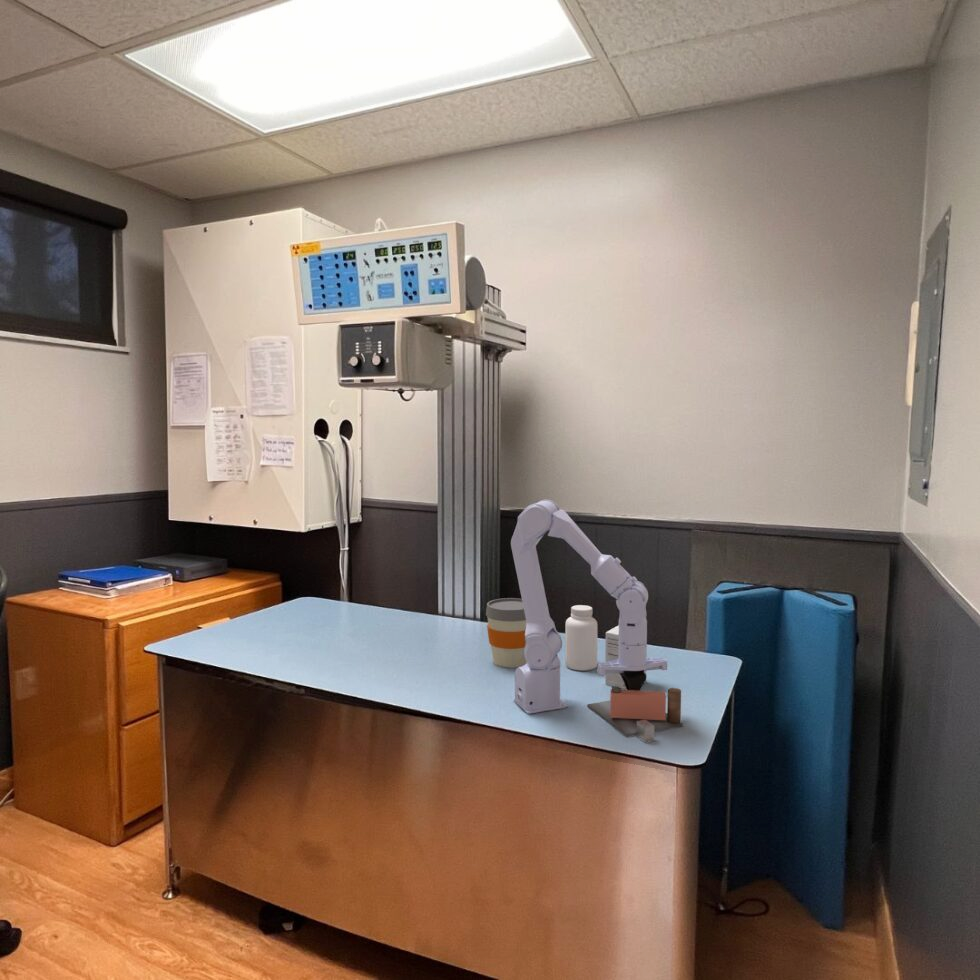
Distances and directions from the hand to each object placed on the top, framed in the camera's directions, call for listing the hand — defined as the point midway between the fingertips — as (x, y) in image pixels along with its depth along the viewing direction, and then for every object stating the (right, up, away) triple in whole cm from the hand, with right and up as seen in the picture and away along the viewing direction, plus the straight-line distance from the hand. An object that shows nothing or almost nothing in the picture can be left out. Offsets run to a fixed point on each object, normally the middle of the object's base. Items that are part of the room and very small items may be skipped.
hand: (632, 705), depth 144 cm
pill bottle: (-7, 0, +30) cm, 31 cm away
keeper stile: (0, -3, -11) cm, 11 cm away
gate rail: (0, -1, -3) cm, 4 cm away
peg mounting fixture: (0, -2, 0) cm, 2 cm away
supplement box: (+2, -1, +18) cm, 18 cm away
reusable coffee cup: (-24, +1, +34) cm, 42 cm away
